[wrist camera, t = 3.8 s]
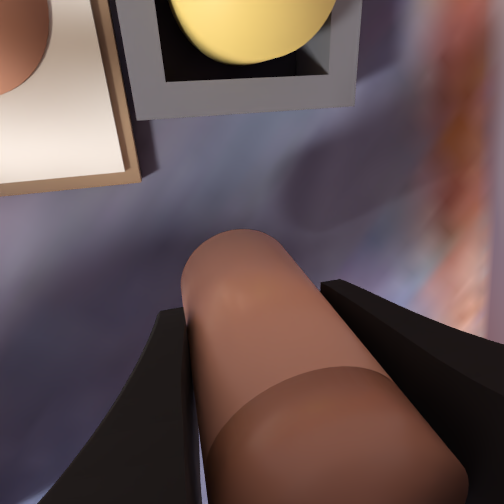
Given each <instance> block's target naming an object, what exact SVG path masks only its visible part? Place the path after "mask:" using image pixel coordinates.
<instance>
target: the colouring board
mask: <svg viewBox="0 0 504 504" xmlns="http://www.w3.org/2000/svg"><path fill="white" fill-rule="evenodd" d="M141 181H142V177H141V172H140V166H139V161H138V156H137V150H136V145H135V139H134V134H133V129H132V123H131V118H130V113H129V107H128V102H127V96H126V91H125V86H124V80H123V75H122V69H121V64H120V59H119V53H118V48H117V42H116V37H115V32H114V26H113V21H112V16H111V10H110V5H109V0H0V197H1V196H11V195H21V194H31V193H41V192H50V191H60V190H70V189H80V188H90V187H100V186H110V185H120V184H129V183H139V182H141Z"/></svg>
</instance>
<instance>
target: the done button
mask: <svg viewBox="0 0 504 504" xmlns="http://www.w3.org/2000/svg"><path fill="white" fill-rule="evenodd" d="M168 2H169V6H170V9H171V11H172V14H173V16H174V19H175V21H176V22H177V24H178V26H179V28H180V30H181V31H182V32H183V34H184V35H185V37H186V38H187V39H188V40H189V41H190V43H191V44H192V45H193V46H194V47H195V48H196V49H198V50H199V51H200V52H201V53H203V54H204V55H205V56H207V57H208V58H210V59H212V60H214V61H216V62H219V63H222V64H225V65H231V66H248V65H253V64H256V63H260V62H263V61H267V60H270V59H274V58H277V57H281V56H284V55H287V54H289V53H291V52H293V51H295V50H297V49H298V48H300V47H301V46H303V45H304V44H305V43H307V42H308V41H309V40H310V39H311V38H312V37H313V36H314V35H315V34H316V33H317V32H318V31H319V30H320V28H321V27H322V25H323V24H324V23H325V21H326V20H327V18H328V16H329V14H330V12H331V11H332V9H333V6H334V4H335V2H336V0H168Z"/></svg>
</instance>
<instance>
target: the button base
mask: <svg viewBox="0 0 504 504" xmlns="http://www.w3.org/2000/svg"><path fill="white" fill-rule="evenodd" d="M115 1H116V7H117V12H118V18H119V23H120V29H121V35H122V40H123V46H124V51H125V57H126V63H127V68H128V74H129V79H130V85H131V91H132V96H133V102H134V107H135V113H136V118H137V121H139V120H154V119H169V118H184V117H199V116H214V115H229V114H244V113H259V112H274V111H289V110H304V109H319V108H334V107H349V106H354V104H355V91H356V78H357V65H358V52H359V38H360V25H361V12H362V0H336V2H335V4H334V6H333V9H332V11H331V12H330V14H329V16H328V18H327V20H326V21H325V23H324V24H323V25H322V27H321V28H320V30H319V31H318V32H317V33H316V34H315V35H314V36H313V37H312V38H311V39H310V40H309V41H308V42H307V43H305V44H304V45H303V46H301V47H300V48H298V49H297V50H296V76H288V77H267V78H245V79H223V80H201V81H180V82H165V74H164V67H163V60H162V53H161V46H160V38H159V31H158V24H157V17H156V9H155V2H154V0H115Z"/></svg>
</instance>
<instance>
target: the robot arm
mask: <svg viewBox="0 0 504 504" xmlns="http://www.w3.org/2000/svg"><path fill="white" fill-rule="evenodd" d="M320 293H321V294H322V295H323V296H324V297H325V299H326V300H327V301H328V302H329V303H330V305H331V306H332V307H333V308H334V310H335V311H336V312H337V313H338V314H339V316H340V317H341V318H342V319H343V320H344V322H345V323H346V324H347V325H348V327H349V328H350V329H351V330H352V331H353V333H354V334H355V335H356V336H357V338H358V339H359V340H360V341H361V342H362V344H363V345H364V346H365V347H366V348H367V350H368V351H369V352H370V353H371V355H372V356H373V357H374V358H375V359H376V361H377V362H378V363H379V364H380V365H381V367H382V368H383V369H384V370H385V372H386V373H387V374H388V375H389V376H390V378H391V379H392V380H393V381H394V382H395V384H396V385H397V386H398V387H399V389H400V390H401V391H402V392H403V393H404V395H405V396H406V397H407V398H408V400H409V401H410V402H411V403H412V404H413V406H414V407H415V408H416V409H417V410H418V412H419V413H420V414H421V415H422V417H423V418H424V419H425V420H426V421H427V423H428V424H429V425H430V426H431V427H432V429H433V430H434V431H435V432H436V434H437V435H438V436H439V437H440V438H441V440H442V441H443V442H444V443H445V444H446V446H447V447H448V448H449V449H450V451H451V452H452V453H453V454H454V455H455V457H456V458H457V459H458V460H459V462H460V463H461V464H462V465H463V467H464V468H465V470H466V473H467V475H468V482H469V487H468V495H467V498H466V502H465V504H504V344H500V343H497V342H494V341H490V340H487V339H484V338H481V337H478V336H475V335H472V334H469V333H466V332H463V331H460V330H458V329H455V328H452V327H449V326H447V325H444V324H442V323H439V322H437V321H434V320H432V319H429V318H427V317H424V316H422V315H420V314H417V313H415V312H413V311H410V310H408V309H406V308H403V307H401V306H399V305H397V304H395V303H392V302H390V301H388V300H386V299H384V298H382V297H379V296H377V295H375V294H373V293H371V292H369V291H367V290H364V289H362V288H360V287H358V286H356V285H353V284H351V283H349V282H346V281H344V280H341V279H338V280H332V281H326V282H321V291H320ZM37 504H202V497H201V483H200V457H199V430H198V419H197V411H196V403H195V395H194V388H193V380H192V372H191V361H190V349H189V341H188V333H187V326H186V320H185V313H184V307H179V308H174V309H168V310H163V311H160V312H159V314H158V315H157V318H156V321H155V324H154V327H153V329H152V332H151V334H150V337H149V339H148V341H147V344H146V346H145V348H144V350H143V352H142V354H141V356H140V358H139V360H138V362H137V364H136V366H135V368H134V370H133V372H132V373H131V375H130V377H129V379H128V380H127V382H126V384H125V386H124V387H123V389H122V391H121V393H120V394H119V396H118V398H117V399H116V401H115V402H114V404H113V406H112V407H111V409H110V410H109V412H108V413H107V415H106V416H105V418H104V419H103V421H102V422H101V424H100V425H99V426H98V428H97V429H96V431H95V432H94V434H93V435H92V436H91V438H90V439H89V440H88V442H87V443H86V444H85V446H84V447H83V448H82V450H81V451H80V452H79V454H78V455H77V456H76V458H75V459H74V460H73V461H72V463H71V464H70V465H69V467H68V468H67V469H66V470H65V472H64V473H63V474H62V475H61V477H60V478H59V479H58V480H57V481H56V483H55V484H54V485H53V486H52V488H51V489H50V490H49V491H48V492H47V493H46V494H45V496H44V497H43V498H42V499H41V500H40V501H39V502H38V503H37Z"/></svg>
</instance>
